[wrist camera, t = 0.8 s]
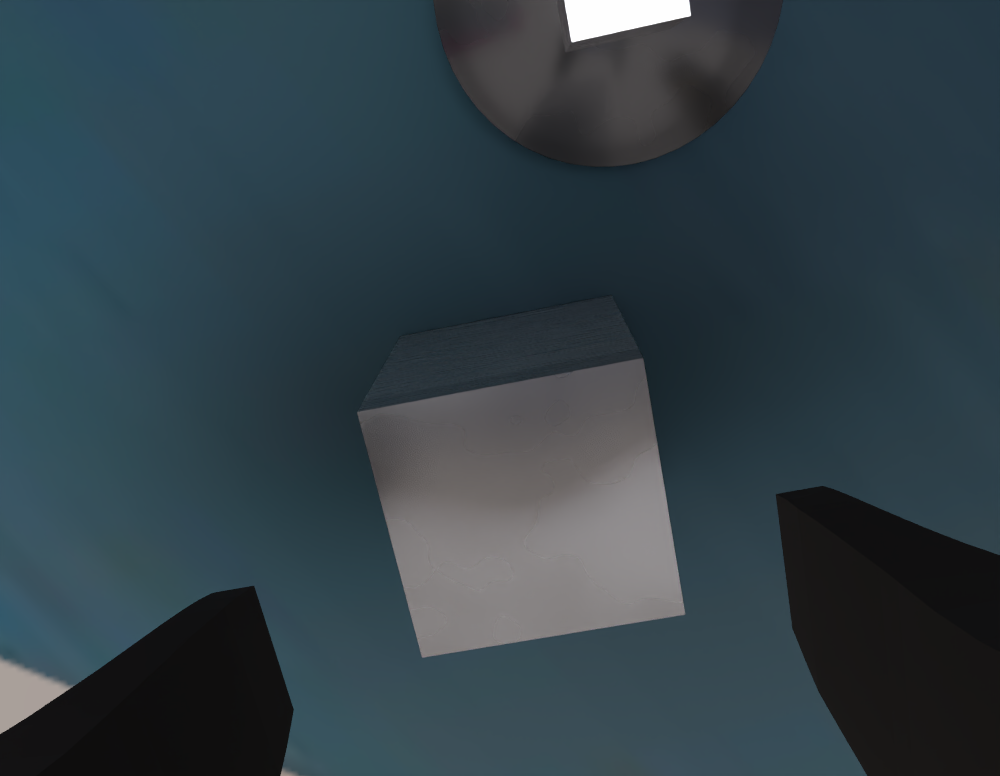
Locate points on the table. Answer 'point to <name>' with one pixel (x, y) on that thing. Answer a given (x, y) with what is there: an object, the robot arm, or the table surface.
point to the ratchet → (605, 70)
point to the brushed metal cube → (522, 478)
